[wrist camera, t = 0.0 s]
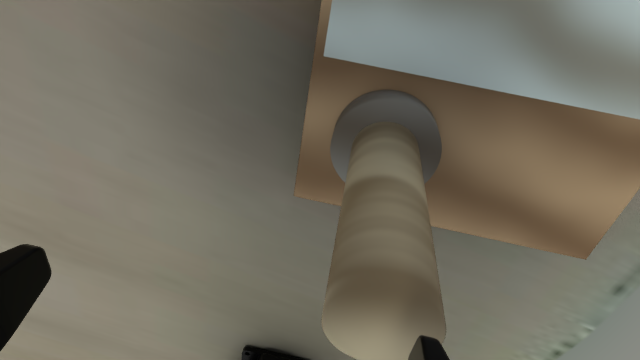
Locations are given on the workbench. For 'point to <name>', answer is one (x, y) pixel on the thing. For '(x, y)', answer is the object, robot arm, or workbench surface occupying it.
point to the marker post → (384, 229)
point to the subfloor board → (494, 109)
